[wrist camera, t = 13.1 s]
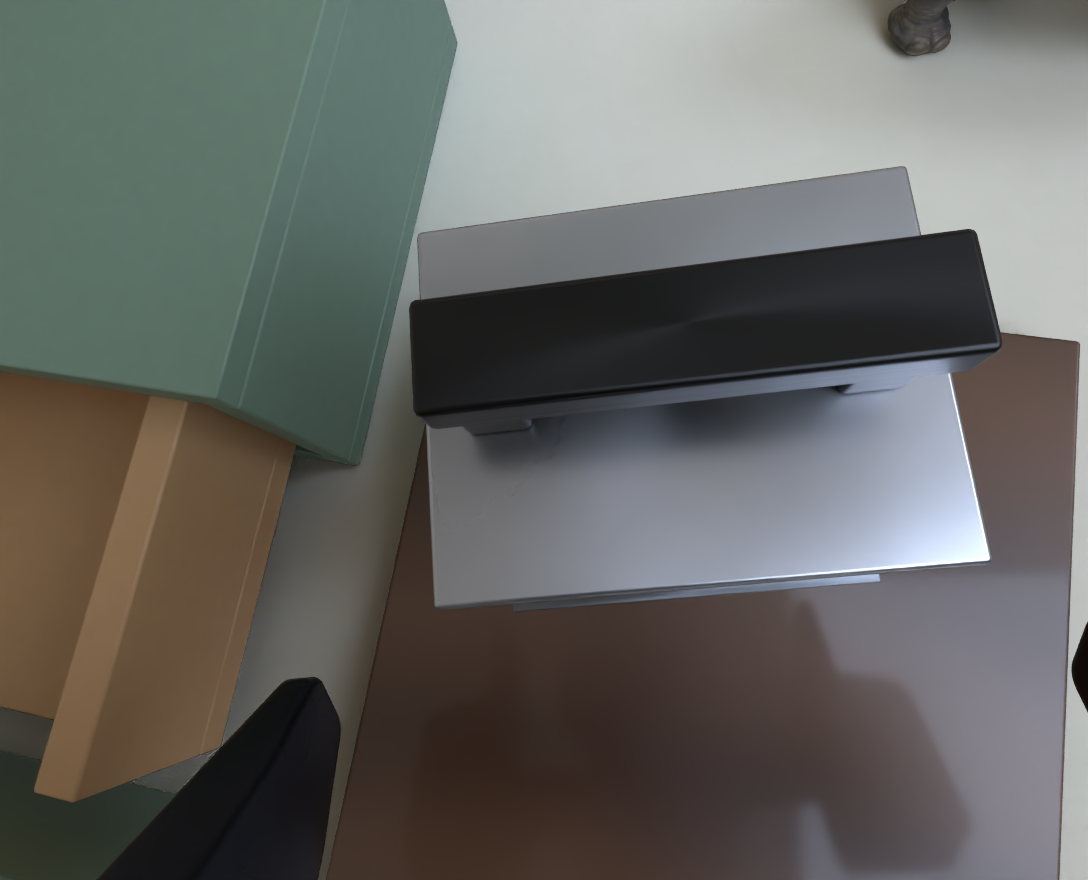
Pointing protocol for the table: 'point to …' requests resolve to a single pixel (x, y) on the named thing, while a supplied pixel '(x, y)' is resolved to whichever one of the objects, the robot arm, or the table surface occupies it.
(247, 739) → the robot arm
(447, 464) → the grey box with handle
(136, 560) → the drawer
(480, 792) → the board
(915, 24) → the rhino figurine
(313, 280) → the cabinet
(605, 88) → the table surface
